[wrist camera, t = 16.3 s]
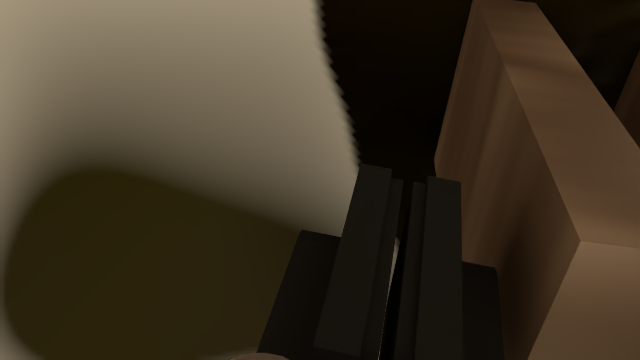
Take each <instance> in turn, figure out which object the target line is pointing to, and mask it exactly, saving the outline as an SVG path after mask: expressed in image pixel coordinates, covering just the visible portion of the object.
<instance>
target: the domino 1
mask: <svg viewBox="0 0 640 360" xmlns="http://www.w3.org/2000/svg"><path fill="white" fill-rule="evenodd" d="M434 162H435V170H436V177H438V178H444V179H449V180H455V181H460V182H461V217H462V261H464V262H469V263H474V264H479V265H484V266H490V267H495V269H496V271H497V276H498V286H499V298H500V309H501V321H502V333H503V345H504V357H505V360H640V148H639V147H638V146H637V144H636V143H635V141H634V140H633V139H632V137H631V136H630V134H629V133H628V132H627V130H626V129H625V127H624V126H623V125H622V123H621V122H620V120H619V119H618V118H617V116H616V115H615V113H614V112H613V111H612V109H611V108H610V106H609V105H608V104H607V102H606V101H605V99H604V98H603V97H602V95H601V94H600V92H599V91H598V90H597V88H596V87H595V85H594V84H593V83H592V81H591V80H590V78H589V77H588V76H587V74H586V73H585V71H584V70H583V69H582V67H581V66H580V64H579V63H578V62H577V60H576V59H575V57H574V56H573V55H572V53H571V52H570V50H569V49H568V48H567V46H566V45H565V43H564V42H563V41H562V39H561V38H560V36H559V35H558V34H557V32H556V31H555V29H554V28H553V27H552V25H551V24H550V22H549V21H548V20H547V18H546V17H545V15H544V14H543V13H542V11H541V10H540V8H539V7H538V6H537V4H536V3H531V2H523V1H515V0H473V1H472V5H471V9H470V13H469V17H468V21H467V26H466V30H465V34H464V38H463V42H462V46H461V50H460V54H459V58H458V62H457V67H456V71H455V75H454V79H453V83H452V87H451V91H450V95H449V99H448V104H447V108H446V112H445V116H444V120H443V124H442V128H441V132H440V136H439V140H438V145H437V149H436V153H435V157H434Z"/></svg>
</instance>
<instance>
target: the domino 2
mask: <svg viewBox="0 0 640 360" xmlns="http://www.w3.org/2000/svg"><path fill="white" fill-rule="evenodd" d="M613 112H614V113H615V115H616V116H617V118H618V119H619V120H620V122H621V123H622V125H623V126H624V127H625V129H626V130H627V132H628V133H629V134H630V136H631V137H632V139H633V140H634V141H635V143H636V144H637V146H638V147H639V148H640V50H639V52H638V55H637V57H636V59H635V62H634V64H633V66H632V69H631V71H630V74H629V76H628V78H627V81H626V83H625V85H624V88H623V90H622V92H621V95H620V97H619V100H618V102H617V104H616V107H615V109H614V111H613Z"/></svg>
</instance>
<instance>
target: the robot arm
mask: <svg viewBox="0 0 640 360" xmlns="http://www.w3.org/2000/svg"><path fill="white" fill-rule="evenodd" d="M391 175H392V169H389V168H383V167H378V166H372V165H366V164H361V165H360V168H359V172H358V176H357V180H356V183H355V187H354V191H353V195H352V199H351V203H350V206H349V210H348V214H347V218H346V222H345V225H344V229H343V233H342V237H336V236H331V235H326V234H321V233H316V232H311V231H306V230H302V231H301V232H300V234H299V237H298V239H297V242H296V245H295V247H294V250H293V253H292V256H291V258H290V261H289V264H288V267H287V269H286V272H285V275H284V278H283V281H282V283H281V286H280V289H279V292H278V294H277V297H276V300H275V303H274V306H273V309H272V311H271V314H270V317H269V319H268V322H267V325H266V328H265V330H264V333H263V336H262V339H261V341H260V344H259V347H258V350H257V352H256V353H247V354H244V355H241V356H238V357H234V358H231V359H229V360H378V357H379V360H505V357H504V345H503V333H502V321H501V309H500V298H499V286H498V276H497V271H496V269H495V267H490V266H484V265H479V264H474V263H469V262H464V261H462V217H461V182H460V181H455V180H449V179H444V178H438V177H433V176H428V177H427V179H426V183H425V184H423V183H418V182H413V186H412V190H411V195H410V199H409V204H408V208H407V213H406V218H405V222H404V227H403V231H402V236H401V241H400V245H399V250H398V254H397V259H396V263H395V268H394V273H393V277H392V282H391V286H390V291H389V296H388V301H387V295H388V287H389V280H390V274H391V266H392V259H393V252H394V245H395V238H396V231H397V224H398V216H399V209H400V202H401V195H402V188H403V180H401V179H396V178H391ZM386 302H387V306H386ZM385 309H386V312H385ZM384 317H385V319H384ZM383 324H384V326H383ZM382 331H383V333H382ZM381 338H382V340H381ZM380 345H381V347H380ZM379 351H380V355H379Z"/></svg>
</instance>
